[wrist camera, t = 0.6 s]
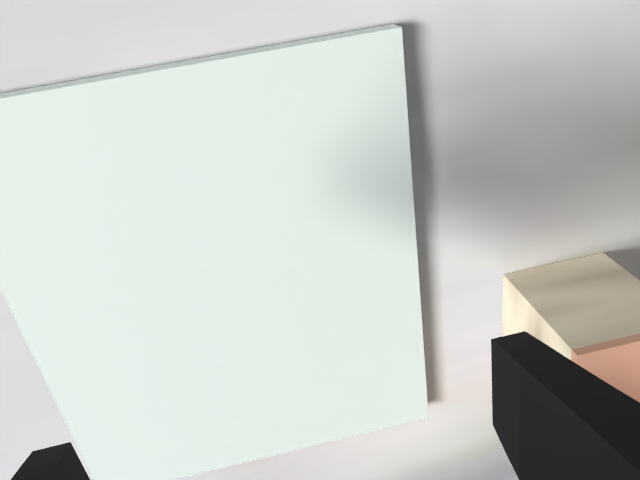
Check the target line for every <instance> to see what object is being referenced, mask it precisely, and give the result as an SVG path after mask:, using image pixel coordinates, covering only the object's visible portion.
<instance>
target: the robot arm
mask: <svg viewBox="0 0 640 480" xmlns="http://www.w3.org/2000/svg"><path fill="white" fill-rule="evenodd" d="M491 348H492V406H493V426H494V428H495V430H496V432H497V435H498V437H499V439H500V441H501V443H502V445H503V447H504V450H505V452H506V454H507V456H508V458H509V460H510V462H511V464H512V466H513V468H514V470H515V472H516V474H517V476H518V478H519V480H640V402H638V401H636V400H635V399H633V398H631V397H630V396H628V395H626V394H625V393H623V392H621V391H620V390H618V389H616V388H615V387H613V386H611V385H610V384H608V383H607V382H605V381H603V380H602V379H600V378H598V377H597V376H595V375H594V374H592V373H590V372H589V371H587V370H586V369H584V368H582V367H581V366H579V365H578V364H576V363H575V362H573V361H571V360H570V359H568V358H567V357H565V356H564V355H562V354H560V353H559V352H557V351H556V350H554V349H553V348H551V347H549V346H548V345H546V344H545V343H543V342H542V341H540V340H538V339H537V338H535V337H534V336H532V335H530V334H529V333H527V332H525V331H523V332H519V333H515V334H511V335H507V336H503V337H499V338H495V339H491ZM11 480H90V479H89V477H88V475H87V473H86V471H85V469H84V467H83V466H82V464H81V462H80V460H79V458H78V456H77V454H76V452H75V450H74V448H73V446H72V444H71V442H69V443H65V444H61V445H57V446H53V447H49V448H45V449H41V450H37V451H33V452H32V453H31V454H30V456H29V457H28V458H27V459H26V461H25V462H24V463H23V464H22V466H21V467H20V468H19V470H18V471H17V472H16V474H15V475H14V476H13V478H12V479H11Z"/></svg>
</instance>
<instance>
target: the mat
mask: <svg viewBox="0 0 640 480" xmlns="http://www.w3.org/2000/svg"><path fill="white" fill-rule="evenodd" d="M0 290H1V292H2V294H3V296H4V298H5V300H6V302H7V304H8V306H9V308H10V310H11V312H12V314H13V316H14V318H15V320H16V322H17V324H18V326H19V329H20V331H21V333H22V335H23V337H24V339H25V341H26V343H27V345H28V347H29V349H30V351H31V353H32V355H33V357H34V359H35V361H36V363H37V365H38V367H39V369H40V371H41V373H42V375H43V377H44V380H45V382H46V384H47V386H48V388H49V390H50V392H51V394H52V396H53V398H54V400H55V402H56V404H57V406H58V408H59V410H60V412H61V414H62V416H63V418H64V420H65V422H66V424H67V426H68V428H69V431H70V433H71V435H72V437H73V439H74V441H75V443H76V445H77V447H78V449H79V451H80V453H81V455H82V457H83V459H84V461H85V463H86V465H87V467H88V469H89V471H90V473H91V475H92V477H93V480H175V479H179V478H183V477H188V476H192V475H196V474H200V473H204V472H208V471H213V470H217V469H221V468H225V467H229V466H233V465H237V464H242V463H246V462H250V461H254V460H258V459H262V458H266V457H271V456H275V455H279V454H283V453H287V452H291V451H296V450H300V449H304V448H308V447H312V446H316V445H320V444H325V443H329V442H333V441H337V440H341V439H345V438H349V437H354V436H358V435H362V434H366V433H370V432H374V431H379V430H383V429H387V428H391V427H395V426H399V425H403V424H408V423H412V422H416V421H420V420H424V419H428V418H429V416H428V401H427V386H426V372H425V357H424V343H423V328H422V313H421V299H420V284H419V270H418V255H417V240H416V226H415V211H414V197H413V182H412V168H411V153H410V138H409V124H408V109H407V95H406V80H405V65H404V51H403V36H402V27H400V26H398V25H396V24H389V25H384V26H378V27H372V28H367V29H361V30H355V31H350V32H344V33H339V34H333V35H327V36H322V37H316V38H310V39H305V40H299V41H293V42H288V43H282V44H277V45H271V46H265V47H260V48H254V49H248V50H243V51H237V52H231V53H226V54H220V55H214V56H209V57H203V58H198V59H192V60H186V61H181V62H175V63H169V64H164V65H158V66H152V67H147V68H141V69H136V70H130V71H124V72H119V73H113V74H107V75H102V76H96V77H90V78H85V79H79V80H74V81H68V82H62V83H57V84H51V85H45V86H40V87H34V88H28V89H23V90H17V91H11V92H6V93H0Z"/></svg>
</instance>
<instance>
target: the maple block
mask: <svg viewBox="0 0 640 480" xmlns="http://www.w3.org/2000/svg"><path fill="white" fill-rule="evenodd" d="M523 331H525V332H527V333H529V334H530V335H532V336H534V337H535V338H537V339H538V340H540V341H542V342H543V343H545V344H546V345H548V346H549V347H551V348H553V349H554V350H556V351H557V352H559V353H560V354H562V355H564V356H565V357H567V358H568V359H570V360H571V361H573V362H575V363H576V364H578V365H579V366H581V367H582V368H584V369H586V370H587V371H589V372H590V373H592V374H594V375H595V376H597V377H598V378H600V379H602V380H603V381H605V382H607V383H608V384H610V385H611V386H613V387H615V388H616V389H618V390H620V391H621V392H623V393H625V394H626V395H628V396H630V397H631V398H633V399H635V400H636V401H638V402H640V280H639V279H637V278H636V277H635V276H633V275H632V274H631V273H629V272H628V271H627V270H626V269H624V268H623V267H622V266H620V265H619V264H618V263H616V262H615V261H614V260H612V259H611V258H610V257H609V256H607V255H606V254H605V253H603V252H602V253H597V254H593V255H588V256H584V257H579V258H575V259H570V260H566V261H561V262H557V263H552V264H548V265H543V266H539V267H534V268H530V269H525V270H521V271H516V272H512V273H507V274H503V333H502V337H503V336H507V335H511V334H515V333H519V332H523Z"/></svg>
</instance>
